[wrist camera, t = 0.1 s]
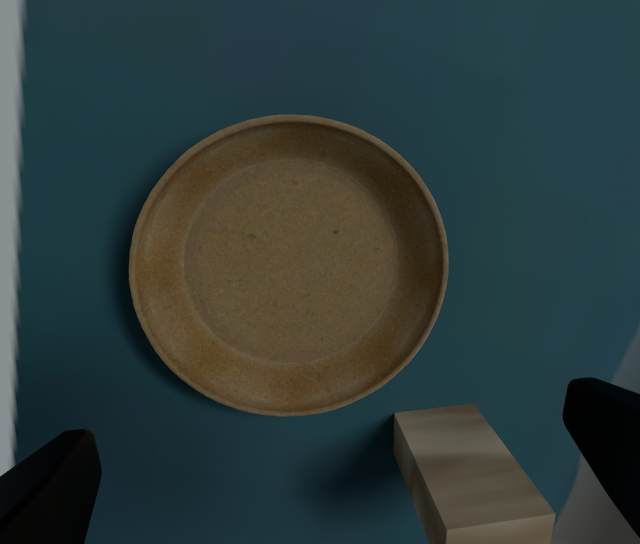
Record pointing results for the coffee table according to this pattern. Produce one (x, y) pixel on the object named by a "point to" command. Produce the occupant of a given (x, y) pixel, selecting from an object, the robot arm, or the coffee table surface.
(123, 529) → the coffee table surface
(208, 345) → the plant saucer
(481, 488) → the taupe streaky block
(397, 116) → the coffee table surface
